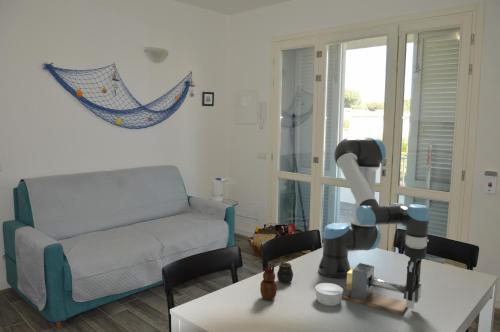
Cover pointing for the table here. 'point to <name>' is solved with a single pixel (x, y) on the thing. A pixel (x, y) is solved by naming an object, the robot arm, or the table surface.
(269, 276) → the wooden figurine
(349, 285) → the brass collar
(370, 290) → the block
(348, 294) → the pad
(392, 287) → the shaft
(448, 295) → the table surface
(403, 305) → the walnut board
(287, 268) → the mate gourd
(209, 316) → the table surface
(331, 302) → the ramekin
